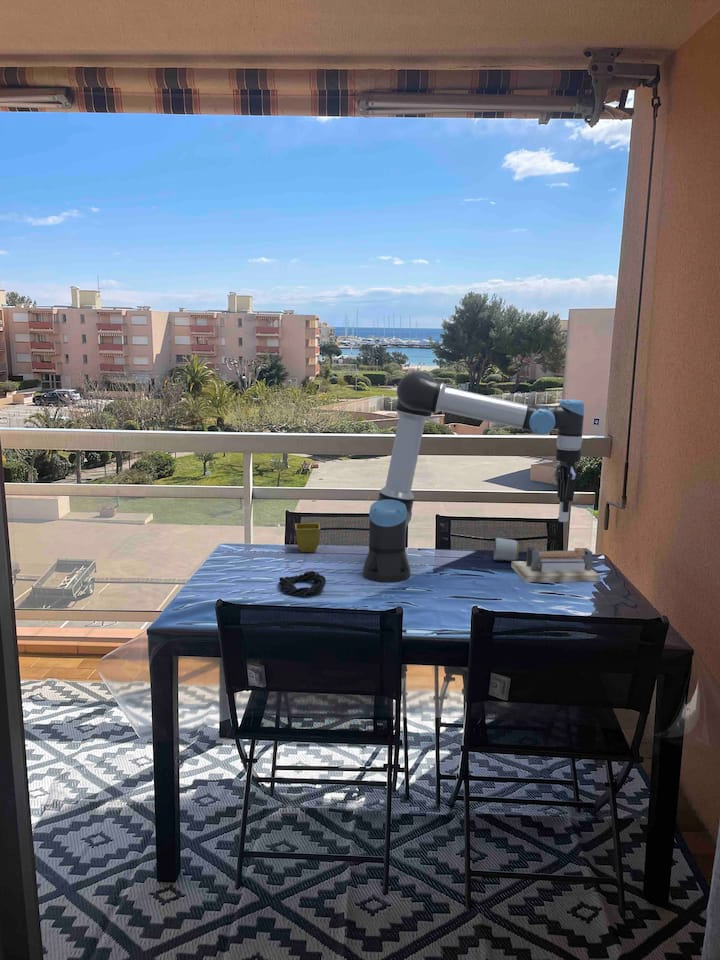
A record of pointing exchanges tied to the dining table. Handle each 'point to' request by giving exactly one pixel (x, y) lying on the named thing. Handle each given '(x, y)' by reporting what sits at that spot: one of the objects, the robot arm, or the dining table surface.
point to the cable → (319, 582)
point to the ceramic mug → (506, 549)
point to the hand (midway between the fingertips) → (563, 521)
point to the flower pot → (307, 536)
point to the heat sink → (559, 562)
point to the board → (552, 574)
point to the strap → (561, 553)
